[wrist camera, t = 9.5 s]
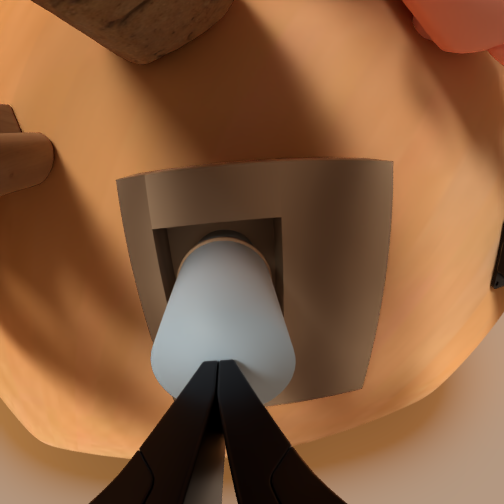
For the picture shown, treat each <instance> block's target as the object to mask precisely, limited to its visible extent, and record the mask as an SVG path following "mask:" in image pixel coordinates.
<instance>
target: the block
mask: <svg viewBox="0 0 504 504" xmlns="http://www.w3.org/2000/svg"><path fill="white" fill-rule="evenodd" d="M31 1H33V2H34V3H36V4H38V5H39V6H41V7H43V8H44V9H46V10H48V11H49V12H51V13H53V14H54V15H56V16H57V17H59V18H60V19H62V20H63V21H65V22H67V23H68V24H70V25H71V26H73V27H74V28H76V29H77V30H79V31H81V32H82V33H84V34H86V35H87V36H89V37H90V38H92V39H93V40H95V41H96V42H97V43H99V44H101V45H102V46H104V47H105V48H107V49H109V50H110V51H112V52H113V53H115V54H116V55H118V56H120V57H122V58H124V59H126V60H128V61H130V62H132V63H137V64H141V65H142V64H148V63H150V62H152V61H155V60H157V59H159V58H161V57H162V56H164V55H165V54H167V53H170V52H172V51H174V50H176V49H178V48H180V47H182V46H183V45H185V44H186V43H188V42H190V41H191V40H193V39H194V38H196V37H198V36H199V35H201V34H202V33H204V32H205V31H206V30H208V29H209V28H210V27H212V26H213V25H214V24H215V23H216V22H217V21H218V20H220V19H221V18H222V17H223V16H224V15H225V13H226V12H227V10H228V9H229V7H230V6H231V4H232V2H233V1H234V0H31Z"/></svg>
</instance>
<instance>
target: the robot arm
mask: <svg viewBox="0 0 504 504" xmlns="http://www.w3.org/2000/svg"><path fill="white" fill-rule="evenodd" d="M491 286H492V287H493V288H494V289H496V288H499V287H502V286H504V226H503V232H502V238H501V244H500V249H499V254H498V259H497V263H496V267H495V272H494V276H493V279H492V283H491ZM225 446H226V451H227V456H228V460H229V466H230V470H231V475H232V480H233V484H234V489H235V493H236V497H237V502H238V504H347V503H346V502H345V501H343V500H342V499H341V498H340V497H339V496H338V495H336V494H335V493H334V492H333V491H332V490H331V489H330V488H328V487H327V486H326V485H325V484H324V483H323V482H322V481H321V480H320V479H319V478H318V477H317V476H316V475H315V474H314V473H313V472H312V470H311V469H310V468H309V467H308V465H307V464H306V463H305V462H304V461H303V459H302V458H301V457H300V456H299V454H298V453H297V452H296V450H295V449H294V448H293V447H291V444H290V442H289V441H288V439H287V438H286V437H285V435H284V434H283V433H282V431H281V430H280V428H279V427H278V425H277V424H276V423H275V421H274V420H273V418H272V417H271V415H270V414H269V412H268V411H267V409H266V408H265V407H264V405H263V404H262V402H261V401H260V399H259V398H258V396H257V395H256V393H255V392H254V390H253V388H252V387H251V385H250V384H249V382H248V381H247V379H246V378H245V376H244V374H243V373H242V371H241V370H240V368H239V367H238V365H237V363H236V362H235V360H233V359H228V360H220V361H219V362H218V361H217V360H213V361H204V362H202V364H201V365H200V366H199V368H198V369H197V371H196V372H195V373H194V375H193V376H192V378H191V379H190V380H189V382H188V383H187V384H186V386H185V387H184V389H183V390H182V391H181V393H180V394H179V396H178V397H177V398H176V400H175V401H174V402H173V404H172V405H171V407H170V408H169V409H168V411H167V412H166V413H165V415H164V416H163V417H162V419H161V420H160V421H159V423H158V424H157V426H156V427H155V428H154V430H153V431H152V432H151V434H150V435H149V436H148V438H147V439H146V440H145V442H144V443H143V444H142V446H141V447H140V448H139V449H140V451H139V450H138V451H137V452H136V453H135V455H134V456H133V457H132V459H131V460H130V461H129V462H128V464H127V465H126V466H125V467H124V468H123V470H122V471H121V472H120V473H119V475H118V476H117V477H116V478H115V479H114V480H113V481H112V482H111V483H110V484H109V485H108V486H107V487H106V488H105V489H104V490H103V491H102V492H101V493H100V494H99V495H98V496H97V497H96V498H94V499H93V500H92V501H91V502H90V503H89V504H222V488H223V472H224V458H225Z"/></svg>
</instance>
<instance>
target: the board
mask: <svg viewBox="0 0 504 504" xmlns="http://www.w3.org/2000/svg"><path fill="white" fill-rule="evenodd" d="M116 182H117V190H118V197H119V203H120V210H121V216H122V221H123V227H124V232H125V237H126V242H127V247H128V252H129V257H130V261H131V265H132V270H133V274H134V278H135V282H136V286H137V290H138V294H139V298H140V301H141V305H142V308H143V312H144V315H145V319H146V322H147V325H148V329H149V332H150V335H151V338H152V341H153V344H154V341H155V338H156V335H157V332H158V329H159V326H160V323H161V321H162V318H163V315H164V312H165V309H166V307H167V304H168V301H169V298H170V296H171V293H172V290H173V287H174V285H175V282H176V280H177V273H178V270H179V267H180V264H181V262H182V260H183V258H184V257H185V255H186V254H187V253H188V252H189V251H190V249H192V248H193V247H194V246H195V245H196V244H198V242H199V241H200V240H201V239H202V238H203V237H204V236H206V235H207V234H209V233H211V232H213V231H217V230H233V231H236V232H239V233H241V234H243V235H244V236H246V237H247V238H248V239H249V240H250V241H251V242H252V244H253V245H254V246H255V247H256V248H257V249H258V250H259V251H260V252H261V253H262V255H263V256H264V257H265V259H266V261H267V263H268V265H269V267H270V271H271V274H272V283H273V286H274V289H275V292H276V295H277V298H278V302H279V305H280V308H281V311H282V314H283V317H284V320H285V324H286V327H287V330H288V333H289V336H290V340H291V343H292V346H293V349H294V353H295V360H296V364H295V371H294V374H293V377H292V378H291V380H290V382H289V384H288V385H287V386H286V388H285V389H284V390H283V391H282V392H281V393H280V394H279V395H278V396H276V397H275V398H274V399H272V400H270V401H269V402H267V403H265V404H263V405H264V407H265V406H273V405H281V404H288V403H294V402H301V401H307V400H312V399H318V398H323V397H328V396H333V395H337V394H342V393H346V392H350V391H354V390H358V389H362V387H363V383H364V380H365V376H366V372H367V368H368V365H369V361H370V356H371V352H372V348H373V344H374V339H375V335H376V330H377V325H378V320H379V315H380V309H381V303H382V297H383V291H384V285H385V278H386V270H387V262H388V253H389V243H390V232H391V219H392V200H393V161H385V160H377V159H368V158H285V159H264V160H248V161H235V162H224V163H213V164H204V165H195V166H187V167H179V168H171V169H164V170H158V171H151V172H145V173H139V174H135V175H131V176H128V177H124V178H121V179H117V180H116ZM172 397H173V396H172ZM173 399H174V401H175V400H176V398H174V397H173Z"/></svg>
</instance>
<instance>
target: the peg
mask: <svg viewBox="0 0 504 504" xmlns="http://www.w3.org/2000/svg"><path fill="white" fill-rule="evenodd" d="M228 359H233V360H235V362H236V363H237V365H238V367H239V368H240V370H241V371H242V373H243V374H244V376H245V378H246V379H247V381H248V382H249V384H250V385H251V387H252V388H253V390H254V392H255V393H256V395H257V396H258V398H259V399H260V401H261V402H262V404H265V403H267V402H269V401H270V400H272V399H274V398H275V397H276V396H278V395H279V394H280V393H281V392H282V391H283V390H284V389H285V388H286V386H287V385H288V384H289V382H290V380H291V378H292V377H293V374H294V371H295V364H296V360H295V353H294V349H293V346H292V343H291V340H290V336H289V333H288V330H287V327H286V324H285V320H284V317H283V314H282V311H281V308H280V305H279V302H278V298H277V295H276V292H275V289H274V286H273V283H272V274H271V271H270V267H269V265H268V263H267V261H266V259H265V257H264V256H263V255H262V253H261V252H260V251H259V250H258V249H257V248H256V247H255V246H254V245H253V244H252V242H251V241H250V240H249V239H248V238H247V237H246V236H244V235H243V234H241V233H239V232H236V231H233V230H217V231H213V232H211V233H209V234H207V235H206V236H204V237H203V238H202V239H201V240H200V241H199V242H198V244H196V245H195V246H194V247H193V248H192V249H190V251H189V252H188V253H187V254H186V255H185V257H184V258H183V260H182V262H181V264H180V267H179V270H178V273H177V280H176V282H175V285H174V287H173V290H172V293H171V296H170V298H169V301H168V304H167V307H166V309H165V312H164V315H163V318H162V321H161V323H160V326H159V329H158V332H157V335H156V338H155V341H154V344H153V347H152V351H151V366H152V369H153V373H154V375H155V377H156V379H157V380H158V382H159V383H160V385H161V386H162V387H163V388H164V389H165V390H166V391H167V392H168V393H169V394H170V395H172V396H173V397H174V398H177V397H178V396H179V394H180V393H181V391H182V390H183V389H184V387H185V386H186V384H187V383H188V382H189V380H190V379H191V378H192V376H193V375H194V373H195V372H196V371H197V369H198V368H199V366H200V365H201V364H202V362H204V361H213V360H217V361H218V362H219V361H220V360H228Z"/></svg>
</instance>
